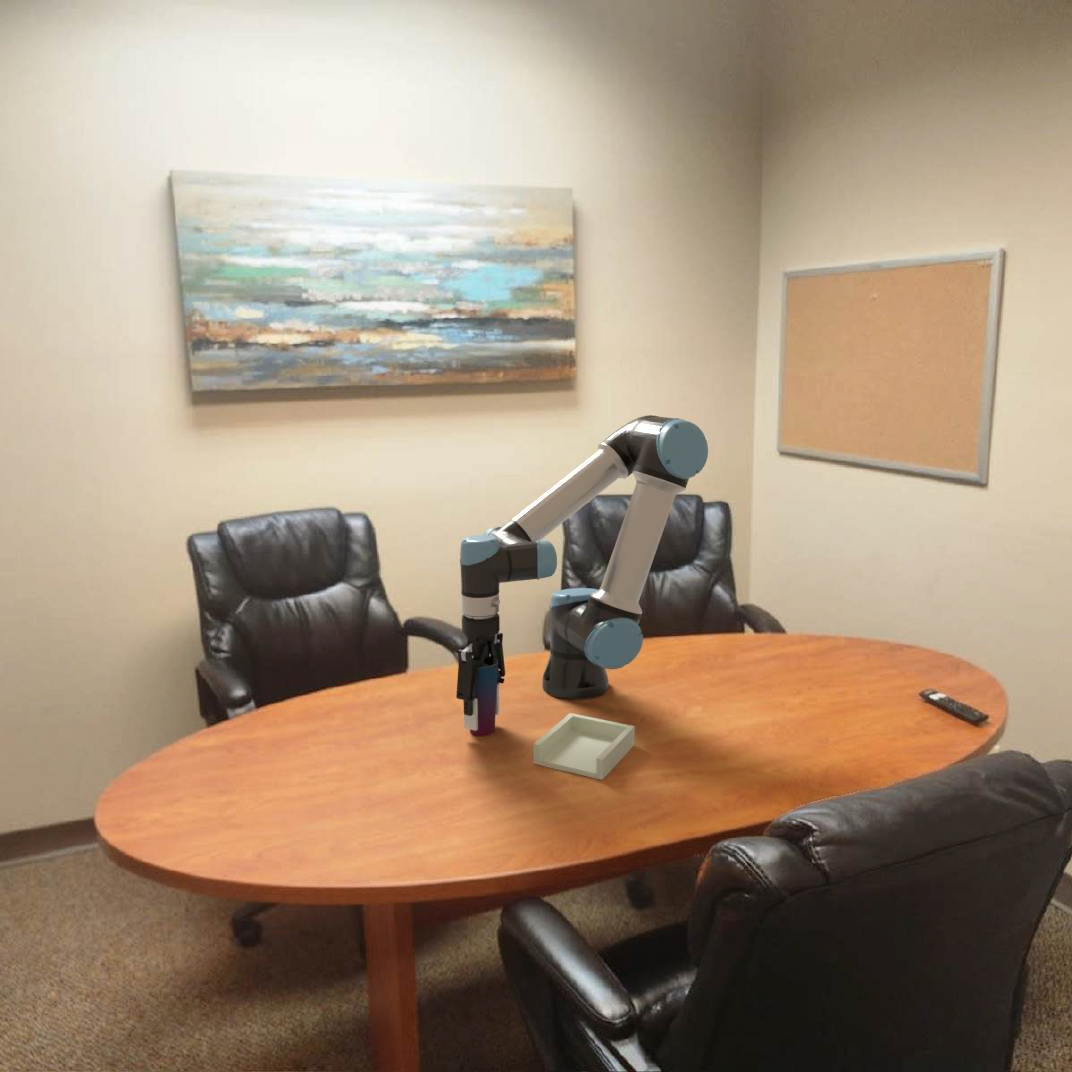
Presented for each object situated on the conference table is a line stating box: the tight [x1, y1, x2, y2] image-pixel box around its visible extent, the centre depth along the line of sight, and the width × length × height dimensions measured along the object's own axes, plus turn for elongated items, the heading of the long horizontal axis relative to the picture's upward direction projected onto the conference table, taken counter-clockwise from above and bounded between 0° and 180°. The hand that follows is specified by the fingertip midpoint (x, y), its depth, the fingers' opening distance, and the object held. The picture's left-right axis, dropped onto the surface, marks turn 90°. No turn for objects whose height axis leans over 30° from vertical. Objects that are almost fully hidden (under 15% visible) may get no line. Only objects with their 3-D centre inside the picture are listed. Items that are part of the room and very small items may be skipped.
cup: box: [469, 658, 498, 737], centre depth 179 cm, size 7×7×15 cm
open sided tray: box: [533, 712, 636, 781], centre depth 170 cm, size 14×16×4 cm
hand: (482, 720), depth 180 cm, fingers open, 8 cm apart
